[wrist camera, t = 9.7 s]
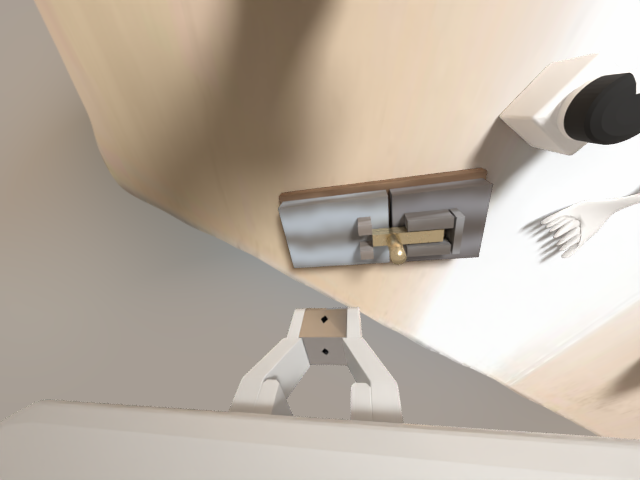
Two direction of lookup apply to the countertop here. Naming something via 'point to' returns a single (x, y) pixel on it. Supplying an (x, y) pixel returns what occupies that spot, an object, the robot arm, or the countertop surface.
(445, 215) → the sliding barrel latch
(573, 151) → the medicine bottle
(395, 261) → the bolt
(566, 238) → the white fork
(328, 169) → the countertop surface
